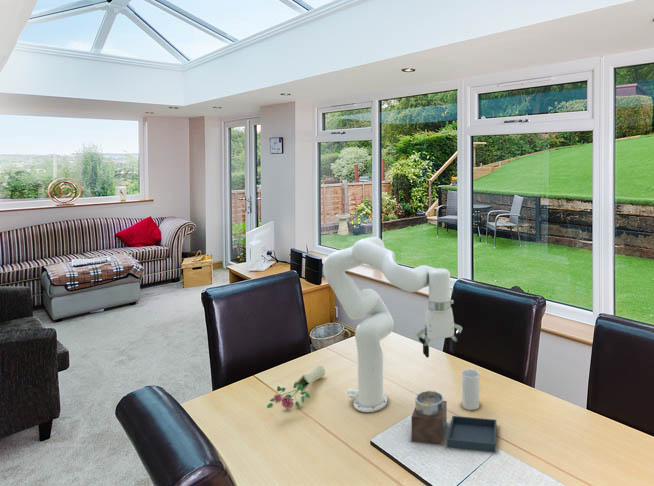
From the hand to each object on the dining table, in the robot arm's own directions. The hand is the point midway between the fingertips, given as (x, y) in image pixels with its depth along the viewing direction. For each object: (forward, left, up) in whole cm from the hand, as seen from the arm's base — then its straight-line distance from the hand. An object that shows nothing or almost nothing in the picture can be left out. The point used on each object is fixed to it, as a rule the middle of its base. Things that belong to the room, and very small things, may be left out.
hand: (439, 353), depth 150 cm
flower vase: (-55, +7, -24) cm, 60 cm away
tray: (+12, -6, -24) cm, 27 cm away
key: (-2, -5, -15) cm, 16 cm away
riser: (-2, -6, -24) cm, 25 cm away
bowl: (-2, -6, -16) cm, 17 cm away
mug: (+10, +14, -24) cm, 29 cm away
